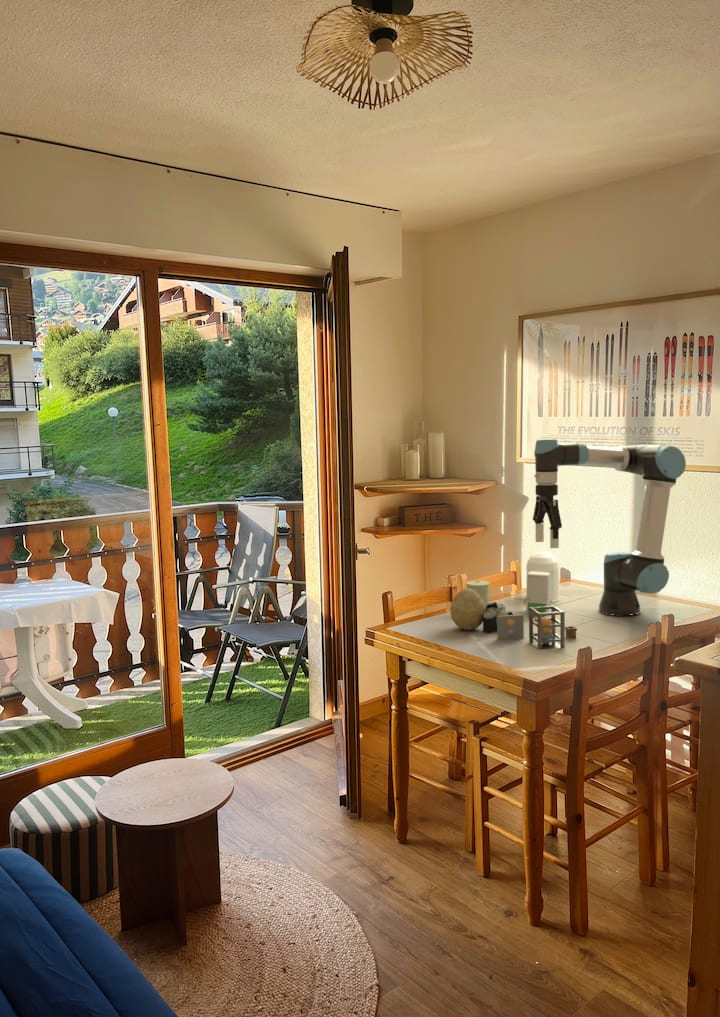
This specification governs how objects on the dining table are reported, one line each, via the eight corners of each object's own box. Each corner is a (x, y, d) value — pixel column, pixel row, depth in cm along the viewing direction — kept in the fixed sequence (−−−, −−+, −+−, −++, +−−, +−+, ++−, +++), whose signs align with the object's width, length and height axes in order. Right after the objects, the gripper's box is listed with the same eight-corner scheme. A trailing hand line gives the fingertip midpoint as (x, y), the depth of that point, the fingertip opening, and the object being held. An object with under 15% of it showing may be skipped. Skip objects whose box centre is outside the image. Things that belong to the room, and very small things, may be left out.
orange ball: (547, 614, 259) (548, 616, 254) (554, 628, 258) (555, 630, 253) (533, 620, 260) (534, 622, 255) (540, 634, 259) (541, 636, 254)
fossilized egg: (449, 625, 289) (448, 585, 287) (483, 624, 289) (483, 584, 287) (452, 634, 276) (451, 593, 275) (488, 633, 276) (487, 592, 274)
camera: (501, 637, 271) (501, 609, 270) (477, 634, 276) (477, 606, 275) (518, 627, 284) (518, 600, 283) (495, 623, 289) (495, 597, 287)
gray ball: (551, 644, 261) (549, 629, 263) (556, 642, 256) (554, 627, 258) (536, 645, 261) (535, 630, 262) (542, 643, 256) (540, 628, 257)
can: (489, 608, 312) (489, 579, 310) (491, 614, 303) (490, 584, 301) (466, 608, 313) (465, 579, 311) (467, 614, 304) (466, 584, 302)
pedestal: (574, 637, 269) (574, 625, 268) (580, 641, 264) (580, 628, 263) (560, 638, 268) (560, 626, 268) (566, 642, 263) (566, 629, 263)
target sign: (521, 638, 269) (521, 613, 268) (524, 640, 266) (524, 615, 265) (496, 640, 268) (496, 615, 267) (499, 642, 265) (499, 617, 264)
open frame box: (554, 642, 264) (554, 605, 262) (564, 650, 255) (564, 611, 253) (529, 644, 262) (529, 607, 261) (538, 651, 254) (538, 613, 252)
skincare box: (526, 613, 302) (525, 574, 300) (529, 609, 308) (528, 570, 307) (548, 615, 299) (547, 575, 297) (550, 610, 305) (550, 571, 303)
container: (522, 595, 332) (522, 549, 329) (552, 593, 333) (552, 547, 331) (532, 603, 318) (532, 554, 316) (564, 601, 320) (564, 553, 318)
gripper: (523, 481, 280) (523, 539, 282) (550, 487, 255) (550, 551, 258) (543, 480, 281) (543, 538, 283) (571, 486, 256) (571, 550, 259)
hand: (546, 544), depth 270 cm, fingers open, 13 cm apart
